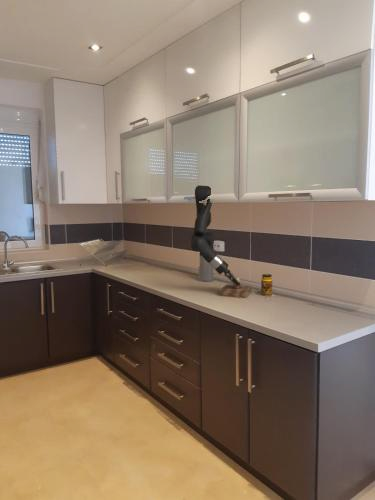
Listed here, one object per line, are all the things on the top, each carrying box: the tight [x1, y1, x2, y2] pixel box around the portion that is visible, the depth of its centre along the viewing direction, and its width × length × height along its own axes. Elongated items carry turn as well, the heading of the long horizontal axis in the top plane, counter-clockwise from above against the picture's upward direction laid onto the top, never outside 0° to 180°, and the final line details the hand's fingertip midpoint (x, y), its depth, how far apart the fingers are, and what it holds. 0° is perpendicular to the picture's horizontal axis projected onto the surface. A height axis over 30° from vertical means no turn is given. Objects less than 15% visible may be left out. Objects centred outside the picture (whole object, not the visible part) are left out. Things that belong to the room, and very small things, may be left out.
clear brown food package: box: [219, 284, 253, 299], centre depth 225 cm, size 15×14×4 cm
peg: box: [232, 276, 240, 289], centre depth 225 cm, size 4×4×10 cm
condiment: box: [258, 273, 276, 298], centre depth 223 cm, size 7×8×12 cm
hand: (238, 283), depth 225 cm, fingers open, 8 cm apart
